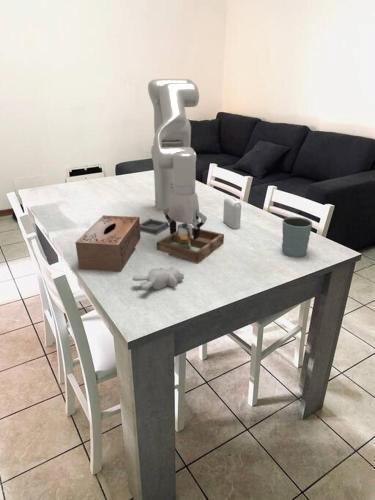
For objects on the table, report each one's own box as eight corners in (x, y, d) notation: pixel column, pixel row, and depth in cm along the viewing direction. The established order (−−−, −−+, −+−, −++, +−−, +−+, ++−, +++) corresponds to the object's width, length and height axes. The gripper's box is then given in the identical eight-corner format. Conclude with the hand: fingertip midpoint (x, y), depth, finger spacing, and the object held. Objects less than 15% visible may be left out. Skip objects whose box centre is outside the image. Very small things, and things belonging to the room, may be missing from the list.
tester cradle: (149, 222, 161) (149, 217, 160) (172, 227, 155) (172, 222, 154) (132, 231, 152) (132, 225, 150) (155, 237, 146) (155, 231, 145)
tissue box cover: (105, 239, 145) (103, 215, 141) (140, 240, 143) (139, 217, 139) (79, 269, 122) (75, 242, 118) (121, 272, 120) (118, 244, 116)
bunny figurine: (189, 273, 111) (145, 282, 103) (187, 288, 113) (144, 298, 105) (173, 261, 118) (130, 268, 110) (171, 276, 120) (130, 284, 112)
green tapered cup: (303, 260, 127) (307, 228, 122) (275, 254, 132) (278, 223, 127) (310, 250, 135) (315, 219, 130) (284, 244, 140) (287, 214, 135)
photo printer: (221, 221, 162) (222, 194, 156) (230, 220, 163) (231, 193, 158) (232, 229, 153) (233, 201, 148) (241, 228, 154) (243, 200, 149)
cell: (181, 245, 136) (182, 220, 132) (193, 248, 134) (194, 223, 130) (174, 250, 132) (175, 224, 128) (186, 253, 130) (187, 227, 126)
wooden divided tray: (185, 234, 149) (185, 225, 147) (223, 243, 141) (223, 234, 139) (157, 252, 134) (156, 242, 132) (198, 263, 125) (198, 253, 124)
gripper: (156, 188, 125) (158, 234, 132) (201, 195, 116) (200, 244, 124) (169, 183, 130) (170, 227, 138) (212, 190, 122) (210, 236, 130)
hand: (184, 235), depth 131 cm, fingers open, 9 cm apart
